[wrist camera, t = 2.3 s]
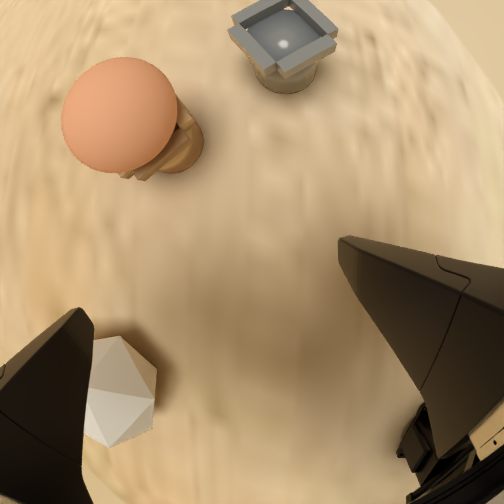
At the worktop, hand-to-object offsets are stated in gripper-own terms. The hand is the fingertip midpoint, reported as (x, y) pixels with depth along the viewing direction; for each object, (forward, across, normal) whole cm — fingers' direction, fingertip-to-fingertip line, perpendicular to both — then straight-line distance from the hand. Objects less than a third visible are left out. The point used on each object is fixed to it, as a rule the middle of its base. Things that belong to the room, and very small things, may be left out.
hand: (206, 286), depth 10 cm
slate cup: (+15, +8, +5) cm, 18 cm away
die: (+9, -11, -14) cm, 20 cm away
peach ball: (+8, -3, +5) cm, 10 cm away
